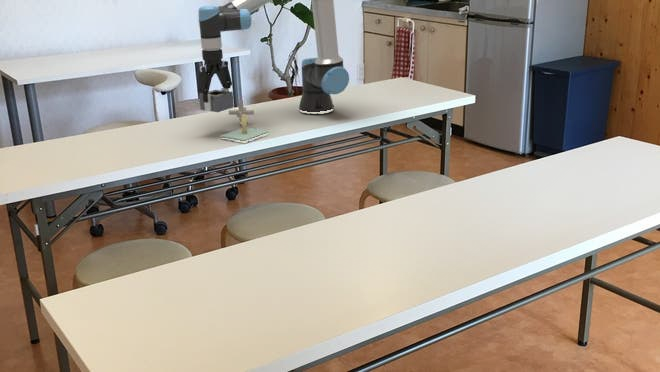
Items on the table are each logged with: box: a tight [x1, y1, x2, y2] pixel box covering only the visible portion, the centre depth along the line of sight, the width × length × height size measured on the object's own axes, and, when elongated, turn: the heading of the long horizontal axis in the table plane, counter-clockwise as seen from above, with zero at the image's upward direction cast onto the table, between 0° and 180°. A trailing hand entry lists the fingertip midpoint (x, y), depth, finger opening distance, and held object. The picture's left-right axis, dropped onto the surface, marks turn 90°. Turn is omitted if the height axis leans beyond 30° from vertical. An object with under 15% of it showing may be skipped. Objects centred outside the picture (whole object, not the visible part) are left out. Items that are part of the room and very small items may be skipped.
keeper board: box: [220, 114, 269, 141], centre depth 268 cm, size 14×12×9 cm
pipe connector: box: [228, 99, 255, 123], centre depth 287 cm, size 10×10×10 cm
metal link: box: [198, 89, 235, 113], centre depth 271 cm, size 9×9×6 cm
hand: (217, 107), depth 272 cm, fingers closed on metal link, 9 cm apart
